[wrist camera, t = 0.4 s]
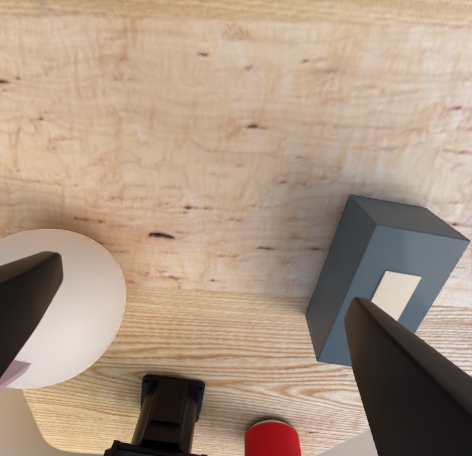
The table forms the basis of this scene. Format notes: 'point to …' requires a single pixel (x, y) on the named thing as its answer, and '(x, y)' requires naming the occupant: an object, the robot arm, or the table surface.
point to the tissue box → (381, 269)
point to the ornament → (67, 308)
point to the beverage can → (272, 439)
